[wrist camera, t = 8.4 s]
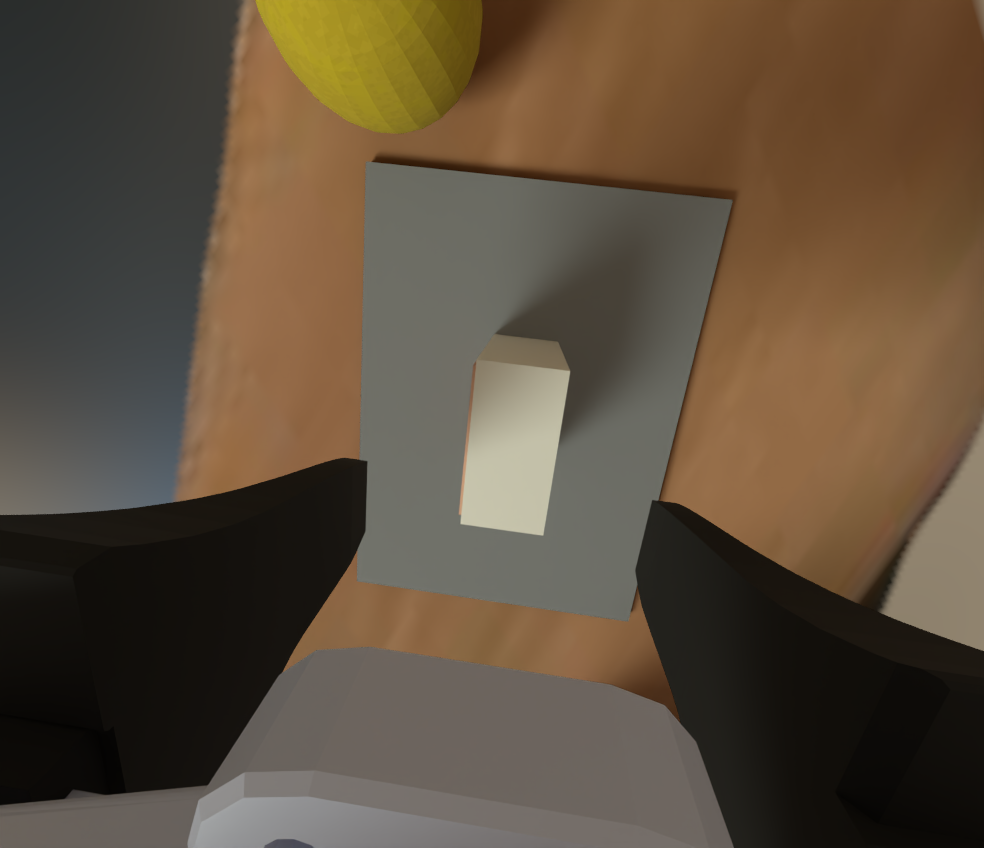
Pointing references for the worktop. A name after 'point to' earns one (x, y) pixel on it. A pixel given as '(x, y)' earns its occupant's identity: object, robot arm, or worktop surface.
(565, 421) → the mat
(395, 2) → the lemon
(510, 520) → the cream upright block
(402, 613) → the worktop surface
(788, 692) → the robot arm
